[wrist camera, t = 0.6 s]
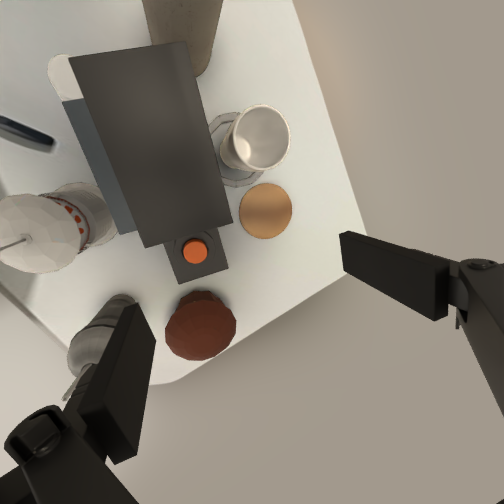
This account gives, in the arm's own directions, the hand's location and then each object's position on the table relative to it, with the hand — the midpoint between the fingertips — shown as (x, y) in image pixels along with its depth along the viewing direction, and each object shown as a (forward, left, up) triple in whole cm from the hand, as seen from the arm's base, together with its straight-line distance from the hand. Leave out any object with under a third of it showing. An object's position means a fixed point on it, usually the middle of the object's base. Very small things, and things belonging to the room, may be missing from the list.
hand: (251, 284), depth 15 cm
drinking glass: (-9, +7, -29) cm, 31 cm away
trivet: (+2, +10, -29) cm, 31 cm away
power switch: (+4, -4, -29) cm, 29 cm away
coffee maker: (-9, +2, -29) cm, 30 cm away
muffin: (+17, -7, -29) cm, 34 cm away
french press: (-5, -19, -29) cm, 35 cm away
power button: (+4, -4, -25) cm, 26 cm away
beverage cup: (+11, -19, -29) cm, 36 cm away
